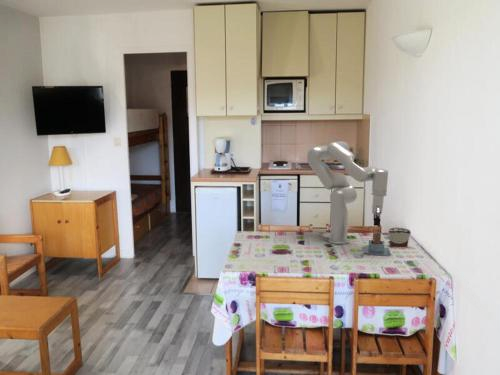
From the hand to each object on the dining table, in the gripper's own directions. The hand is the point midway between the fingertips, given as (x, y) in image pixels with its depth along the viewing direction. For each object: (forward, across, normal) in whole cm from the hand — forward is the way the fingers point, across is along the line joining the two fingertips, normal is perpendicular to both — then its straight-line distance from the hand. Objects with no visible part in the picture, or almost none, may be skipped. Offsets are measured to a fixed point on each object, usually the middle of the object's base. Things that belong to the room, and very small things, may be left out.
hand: (376, 223), depth 236 cm
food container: (+16, -13, +13) cm, 25 cm away
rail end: (+15, +1, +1) cm, 15 cm away
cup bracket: (+16, +1, +1) cm, 16 cm away
